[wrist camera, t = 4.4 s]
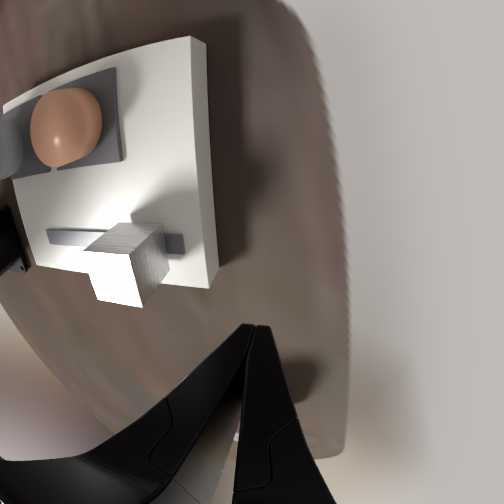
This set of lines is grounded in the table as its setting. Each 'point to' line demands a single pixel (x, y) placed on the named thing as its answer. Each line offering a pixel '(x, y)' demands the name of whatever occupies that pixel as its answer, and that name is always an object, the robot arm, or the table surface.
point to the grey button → (10, 147)
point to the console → (128, 162)
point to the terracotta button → (65, 126)
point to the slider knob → (128, 262)
